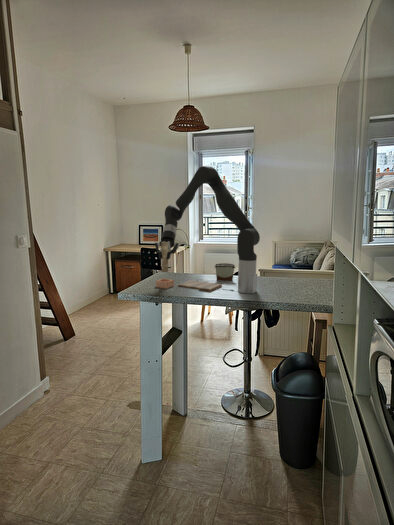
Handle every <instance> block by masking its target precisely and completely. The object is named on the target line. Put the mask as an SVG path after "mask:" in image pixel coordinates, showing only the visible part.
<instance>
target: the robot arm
mask: <svg viewBox="0 0 394 525" xmlns="http://www.w3.org/2000/svg"><path fill="white" fill-rule="evenodd" d="M205 184H207V185H209V187H210V188H211V190H212V191H213V193H214V195H215V201H216V205H217V207H218V208H219V210H220V211H221V213H222V214H223V216H225V218H226V219H227V220H229V222H231V223H232V224H234V226H235V227H236V228H237V229H238V235H237V242H236V244H237V246H236V247H237V249H236V252H237V255H238V271H237V273H238V274H237V292H238V293H240V294H251V295H252V294H255V293H256V292H257V288H258V273H257V262H258V261H257V259H258V258H257V257H258V255H257V253H255V249H254V248H255V247H254V246H256V245H258V244H259V243H260V240H261V235H260V233H259V231H258V230H257V228H256V227H255V226H254V225H253V224H252V223H251V221H250V220H249V219H248V218H247V216H246V215H245V213H244V211H243V210H242V209H241V207H240V205H239V204H238V203H237V201H236V200H235V198H234V197H233V195H232V194H231V193H230V191H229V190H228V188H227V186H226V185H225V183H224V182H223V180H222V179H221V177H220V174H219V172H218V171H217V170H216V169H215V168H214V167H213V166H209V165H202V166H200V167H199V168H197V170H196V171H195V173H194V175H193V177H192V178H191V181H190V182H189V184H188V185H187V186H186V188H185V189H184V190H183V192H182V193H181V195H180V196H179V197H178V198H177V199H176V200H175V205H176V206H174V205H171V204H170V205H167V206H166V208H165V210H164V220H165V223H164V227H163V231H162V234H161V239H160V241H159V242H158V243H157V242H155V243H154V247H155V250H156V253H157V254H158V259H159V260H162V246H161V242H168V253H167V260H168V261H169V259H171V255H174V254H176V252H177V250H178V249H179V247H180V245H179V243H178V242H175V241H176V236H177V228H178V221H180V220H182V218H183V215H184V212H185V211H186V209H187V208H188V207H189V205H190V204H191V203H192V202H193V200H194V199H195V196H196V193H197V191H198V190H199V189H200V187H201V186H203V185H205Z"/></svg>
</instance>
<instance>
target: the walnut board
mask: <svg viewBox="0 0 394 525" xmlns="http://www.w3.org/2000/svg"><path fill="white" fill-rule="evenodd" d="M177 287H179V288H180V287H181V288H186V289H193V290H199V291H201V292H208V293H212V292H213V291H216V290H218V289H220V288H222V287H223V286H222V283H215V282H208V281H199V280H193V279H192V280H191V279H190V280H187V281H184V282H182V283H178V284H177Z"/></svg>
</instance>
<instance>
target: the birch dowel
mask: <svg viewBox="0 0 394 525" xmlns="http://www.w3.org/2000/svg"><path fill="white" fill-rule="evenodd" d="M161 246H162V259H161V272H162V273H168V272H169V260H167V253H168V242H161V245H160V247H161Z"/></svg>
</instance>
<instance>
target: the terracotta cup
mask: <svg viewBox="0 0 394 525" xmlns="http://www.w3.org/2000/svg"><path fill="white" fill-rule="evenodd" d="M174 286H175V280H174V279H168V278H161V279H157V280H155V288H160V289H169V288H172V287H174Z"/></svg>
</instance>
